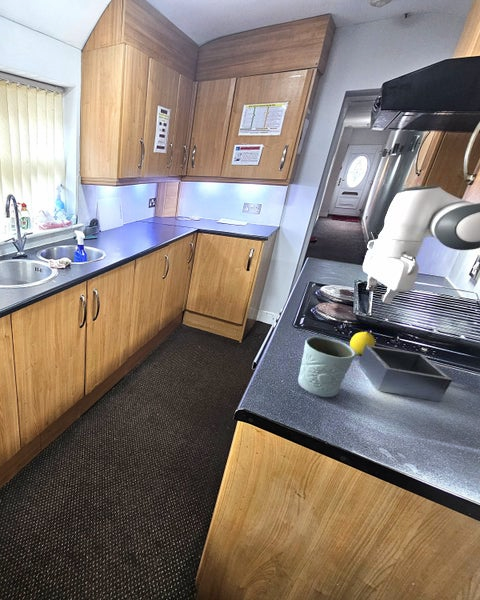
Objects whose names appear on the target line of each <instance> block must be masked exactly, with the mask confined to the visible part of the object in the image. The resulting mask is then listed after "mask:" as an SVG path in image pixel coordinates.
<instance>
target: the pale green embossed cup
mask: <svg viewBox="0 0 480 600" xmlns="http://www.w3.org/2000/svg"><path fill="white" fill-rule="evenodd" d="M356 355H357V354H356V353H355V351H354V349H353V348H352V347H350V344H347V343H345V342H343V341H340V340H337V339H334V338H330V337H326V336H309V337H308V338H306V339H305V342H304V348H303V354H302V358H301V365H300V369H299V374H298V378H297V383H298V385H299V386H300V387H301V388H302V389H303V390H305V391H307V392H308V393H310V394H312V395H315V396H318V397H323V398H333V397H335V396H336V395H337V394H338V393H339V391H340V389H341V386H342V382H343V381H344V379H345V377H346V374H347V373H348V371H349V369H350V367H351V365H352V363H353V361H354V358H355V357H356Z"/></svg>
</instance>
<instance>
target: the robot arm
mask: <svg viewBox="0 0 480 600" xmlns="http://www.w3.org/2000/svg"><path fill="white" fill-rule="evenodd" d="M428 237H429V238H435V239H437V240H438V241H439V243H441V244H442V245H443V246H445V247H447V248H448V249H452V250H457V251H473V250H478V249H480V202H476V203H475V202H470V201H468V200H465V199H462V198H460V197H457V196H455V195H454V194H451V193H448V192H447V191H445V190H444V189H442V187H441V186H438V185H420V186H411V187H407V188H403V189H401V190H400V191H398V192H397V193H396V194H395V196H394V198H393V200H392V201H391V203H390V205H389V207H388V210H387V212H386V215H385V218H384V225H383V228H382V230H381V231H380V233H379V234H378V237H377V238H376V239H372V240H369V241H368V243H367V246H366V248H367V249H368V250H367V251H366V253H365V255H364V260H363V263H362V271H363V273H365V274H367V285H366V288H365V289H366V290H367V291H368V292H372V293H375V292H376V291H377V288H378V286H377V283H378V282H379V283H381V284H383V285H384V286H385V287H387V288H386V293H385V294H382V295H381V298H380V300H381V301H382V302H383V303H384V304H391V303H392V302H393V300H394V298H395V297H396V296H397V295H398V294H399V293H410V292H411V291H412V290H413V289H414V286H415V283H416V281H417V277H418V274H419V270H420V269H419V264H418V262H417V260H416V259H417V257H418V254H419V252H420V250H421V247H422V245H423V243H424V240H425V238H428Z"/></svg>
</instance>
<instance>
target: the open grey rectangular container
mask: <svg viewBox="0 0 480 600" xmlns="http://www.w3.org/2000/svg"><path fill="white" fill-rule="evenodd" d="M357 363H358V364H357V366H358V367H359V368H360V369H361V371H362V372H363V374H364V375H365V376H366V378H367V379H368V380H369V381H370V383H372V385H373V386H374V388H375V389H376V390H377V391H379V392H383V393H384V392H385V393H391V394H394V395H401V396H406V397H411V398H417V399H422V400H427V401H432V402H438V403H440V402H442V400H443V397H444V395H445V394H446V392H447V390H448V388H449V386H450V384H451V383H452V381H453V379H452V378H451V377H450V376H448V375H447V374H446V373H445V372H444V371H442V369H440V368H439V367H438V366H437V365H435V364H434V363H433V362H432V361H431V360H430V359H428V358H427V357H426V356H425V355H424V354H422V353H420V352H413V351H406V350H401V349H394V348H388V347H382V346H381V347H380V346H375V345H374V346H369V345H366V346H365V348H364V351H363V353H362V354H361V356H360V358H359V361H358V362H357Z"/></svg>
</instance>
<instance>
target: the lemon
mask: <svg viewBox="0 0 480 600" xmlns="http://www.w3.org/2000/svg"><path fill="white" fill-rule="evenodd" d="M375 344H376V340H375V337H374V336H373V334H371V333H370V332H368V331H360V332H357V333H355V334H354V335H353V336H352V337H351V339H350V341H349V346H350V347H352V348H353V349H354V351H355V353H356V354H355V355H358V356H360V355H361V356H362V353H363V351H364V348H365V346H366V345H369V346H375Z"/></svg>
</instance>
